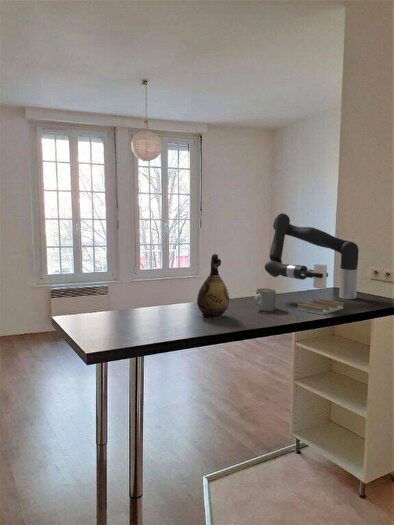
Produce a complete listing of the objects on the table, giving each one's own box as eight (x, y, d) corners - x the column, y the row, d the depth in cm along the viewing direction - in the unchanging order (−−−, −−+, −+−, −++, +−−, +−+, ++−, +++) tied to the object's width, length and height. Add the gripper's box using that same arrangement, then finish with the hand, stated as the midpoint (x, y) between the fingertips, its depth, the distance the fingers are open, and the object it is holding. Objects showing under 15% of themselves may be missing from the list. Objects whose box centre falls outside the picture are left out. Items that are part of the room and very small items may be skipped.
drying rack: (319, 304, 220) (319, 298, 220) (343, 308, 209) (343, 302, 209) (297, 309, 207) (297, 303, 207) (321, 314, 196) (322, 308, 196)
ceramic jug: (231, 320, 186) (232, 256, 183) (198, 320, 185) (198, 256, 182) (226, 311, 203) (226, 252, 200) (195, 312, 202) (195, 252, 199)
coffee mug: (267, 305, 217) (267, 287, 215) (279, 309, 208) (279, 290, 207) (246, 308, 210) (247, 289, 209) (258, 312, 201) (259, 292, 200)
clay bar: (317, 286, 211) (318, 263, 209) (326, 287, 207) (327, 264, 206) (313, 287, 208) (314, 264, 207) (321, 288, 204) (322, 265, 203)
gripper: (289, 266, 213) (317, 269, 200) (305, 264, 222) (333, 267, 209) (288, 280, 214) (317, 284, 201) (304, 277, 223) (332, 281, 210)
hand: (325, 275), depth 205 cm, fingers closed on clay bar, 4 cm apart
